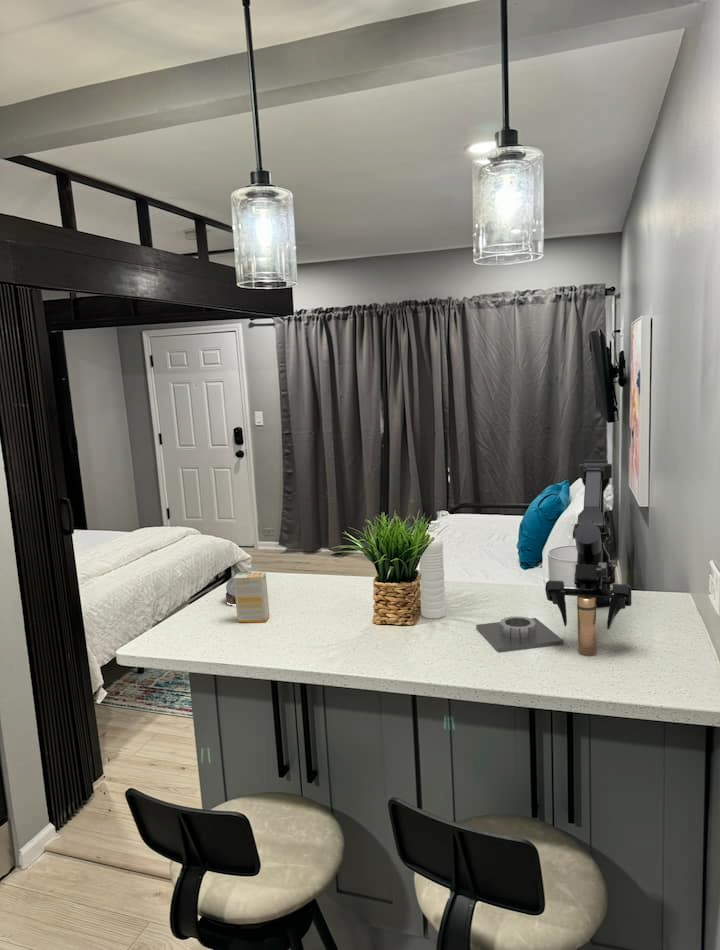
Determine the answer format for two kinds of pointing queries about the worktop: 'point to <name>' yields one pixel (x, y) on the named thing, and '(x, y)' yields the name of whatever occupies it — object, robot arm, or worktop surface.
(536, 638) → the plate
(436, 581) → the water bottle
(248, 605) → the supplement box
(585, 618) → the copper cylindrical bottle
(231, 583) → the canned food
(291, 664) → the worktop surface
